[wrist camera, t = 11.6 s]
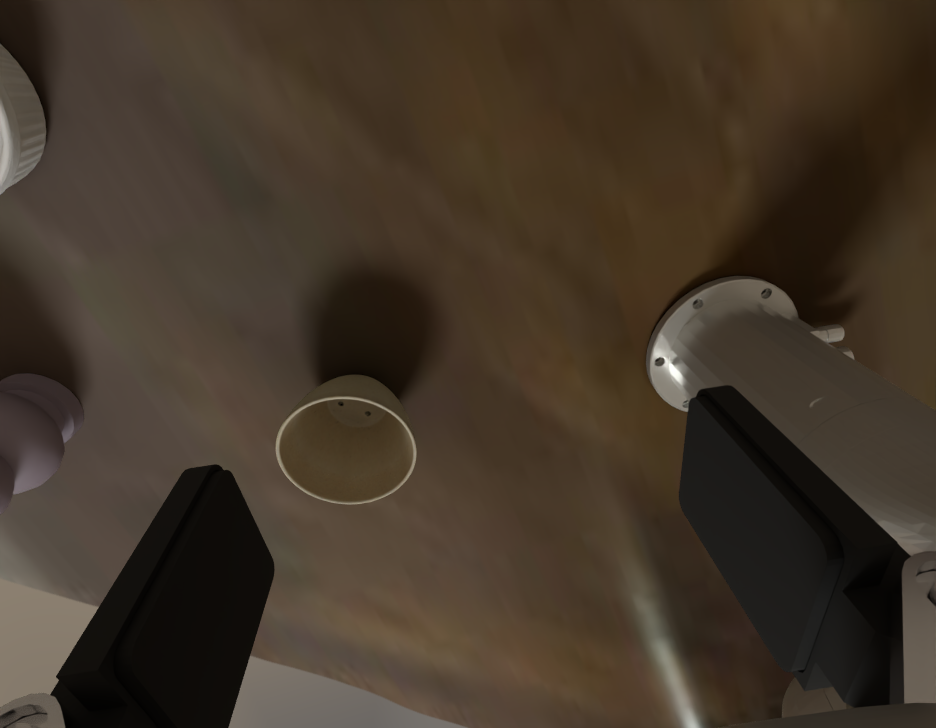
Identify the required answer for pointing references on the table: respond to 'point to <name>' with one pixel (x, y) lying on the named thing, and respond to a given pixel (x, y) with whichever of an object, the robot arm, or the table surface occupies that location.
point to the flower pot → (347, 442)
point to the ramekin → (18, 123)
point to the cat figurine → (33, 431)
